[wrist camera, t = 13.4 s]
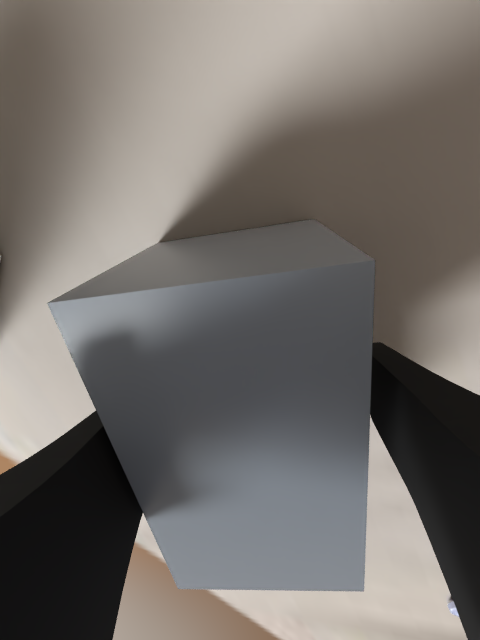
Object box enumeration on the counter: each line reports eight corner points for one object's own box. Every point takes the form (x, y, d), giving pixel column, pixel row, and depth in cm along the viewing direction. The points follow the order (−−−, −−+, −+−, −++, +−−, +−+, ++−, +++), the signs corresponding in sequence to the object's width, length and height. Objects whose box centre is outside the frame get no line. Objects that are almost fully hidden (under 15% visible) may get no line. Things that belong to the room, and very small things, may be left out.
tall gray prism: (324, 432, 15) (363, 591, 9) (210, 438, 16) (178, 588, 10) (314, 218, 11) (375, 260, 5) (157, 242, 11) (47, 302, 6)
